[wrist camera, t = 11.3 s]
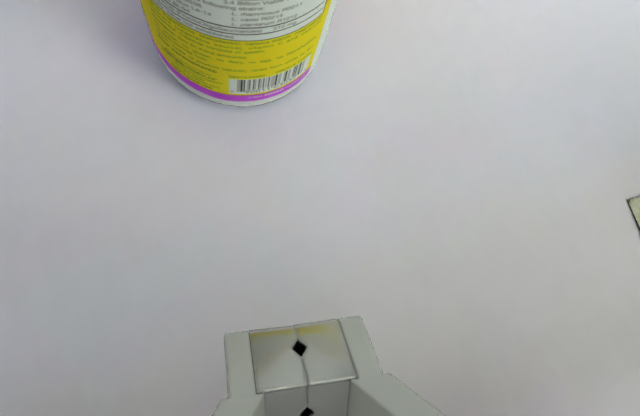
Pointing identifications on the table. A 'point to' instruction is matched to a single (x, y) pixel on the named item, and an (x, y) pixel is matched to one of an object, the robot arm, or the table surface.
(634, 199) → the eiffel tower figurine
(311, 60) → the supplement bottle
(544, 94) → the table surface
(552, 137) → the table surface
